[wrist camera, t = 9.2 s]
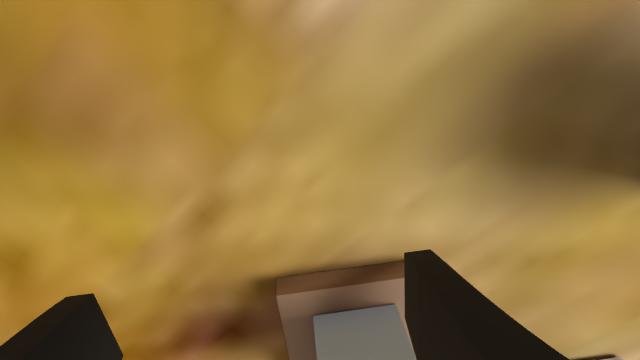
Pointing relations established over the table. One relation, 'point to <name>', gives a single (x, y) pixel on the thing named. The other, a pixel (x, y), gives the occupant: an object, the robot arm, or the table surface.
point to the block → (362, 335)
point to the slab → (335, 300)
